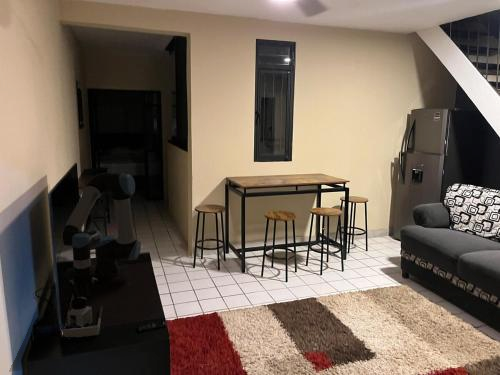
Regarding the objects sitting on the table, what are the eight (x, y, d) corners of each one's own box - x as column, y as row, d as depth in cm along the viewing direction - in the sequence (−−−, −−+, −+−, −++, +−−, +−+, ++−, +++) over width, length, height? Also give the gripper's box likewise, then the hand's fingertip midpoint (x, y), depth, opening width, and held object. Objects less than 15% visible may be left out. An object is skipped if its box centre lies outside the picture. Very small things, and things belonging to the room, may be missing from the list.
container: (82, 330, 178) (81, 304, 176) (67, 328, 180) (66, 301, 177) (92, 321, 186) (91, 296, 183) (78, 319, 187) (76, 294, 185)
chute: (70, 311, 194) (70, 304, 193) (102, 308, 198) (102, 301, 197) (62, 339, 171) (61, 330, 170) (98, 334, 175) (98, 326, 175)
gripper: (65, 270, 178) (68, 318, 183) (96, 268, 182) (98, 315, 186) (68, 264, 185) (70, 310, 190) (97, 262, 189) (99, 307, 193)
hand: (84, 312), depth 188 cm, fingers closed
